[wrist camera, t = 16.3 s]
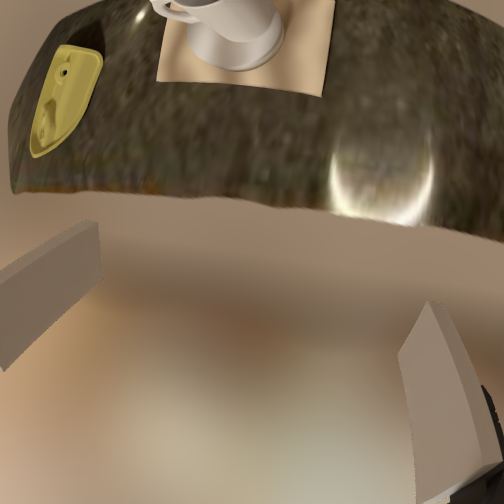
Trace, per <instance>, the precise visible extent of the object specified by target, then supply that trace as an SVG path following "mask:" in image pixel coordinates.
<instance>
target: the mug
mask: <svg viewBox="0 0 504 504" xmlns="http://www.w3.org/2000/svg"><path fill="white" fill-rule="evenodd" d="M150 2H152V5H153V8H154V10H155V11H156V12H157V13H158V14H160V15H162V16H165V17H167V18H170V19H174V20H178V21H182V22H185V23H189V24H192V23H197V22H203V23H205V24H206V25H207V26H209V27H210V28H212V29H213V30H214V31H216V32H217V33H219V34H220V35H222V36H223V37H225V38H226V39H228V40H230V41H234V42H248V41H252V40H255V39H257V38H259V37H260V36H262V35H263V34H264V33H265V32H266V31H267V29H268V28H269V26H270V23H271V13H270V10H269V8H268V5H267V2H266V0H150ZM169 2H173V3H174V4H176V5H177V6H179V7H180V8H182V9H183V10H185V11H186V12H183V11H176V10H172V9H170V8H168V7H166V6H165V4H166V3H169Z"/></svg>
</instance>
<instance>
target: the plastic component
mask: <svg viewBox="0 0 504 504" xmlns="http://www.w3.org/2000/svg"><path fill="white" fill-rule="evenodd" d="M102 66H103V58H102V56H101V54H100V53H99V52H97V51H95V50H91V49H87V48H82V47H78V46H73V45H60V47H59V48H58V49H57V51H56V53H55V56H54V58H53V60H52V63H51V66H50V68H49V71H48V74H47V77H46V80H45V83H44V86H43V89H42V92H41V95H40V99H39V102H38V105H37V109H36V113H35V117H34V121H33V125H32V131H31V138H30V151H31V154H32V156H33V158H37V157H40V156H42V155H44V154H46V153H48V152H49V151H51V150H52V149H54V148H55V147H57V146H58V145H59V144H60V143H61V142H62V141H63V140H64V139H66V138H67V136H68V135H69V134H70V133H71V132H72V131H73V130H74V128H75V127H76V126H77V124H78V123H79V121H80V120H81V118H82V116H83V114H84V112H85V110H86V108H87V106H88V103H89V100H90V97H91V94H92V92H93V89H94V86H95V84H96V81H97V79H98V76H99V74H100V71H101V69H102ZM65 70H67V74H66V75H65V76H64V72H65Z"/></svg>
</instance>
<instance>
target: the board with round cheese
mask: <svg viewBox="0 0 504 504" xmlns="http://www.w3.org/2000/svg"><path fill="white" fill-rule="evenodd" d="M266 2H267V5H268V8H269V10H270V13H271V23H270V26H269V28H268V29H267V31H266V32H265V33H264V34H263V35H262V36H260V37H259V38H257V39H255V40H252V41H248V42H234V41H230V40H228V39H226V38H225V37H223V36H222V35H220V34H219V33H217V32H216V31H214V30H213V29H212V28H210V27H209V26H207V25H206V24H205V23H203V22H197V23H192V24H189V23H185V22H182V21H178V20H174V19H170V18H168V19H167V23H166V28H165V33H164V38H163V43H162V49H161V55H160V60H159V67H158V73H157V80H156V81H160V82H208V83H225V84H237V85H248V86H257V87H265V88H273V89H280V90H286V91H292V92H298V93H304V94H309V95H314V96H319V97H321V95H322V89H323V83H324V77H325V70H326V64H327V57H328V50H329V44H330V36H331V29H332V22H333V14H334V6H335V0H266ZM170 9H172V10H176V11H183V12H186V11H185V10H183V9H182V8H180V7H179V6H177V5H176V4H174V3H173V2H171V6H170Z"/></svg>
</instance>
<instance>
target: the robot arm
mask: <svg viewBox="0 0 504 504" xmlns="http://www.w3.org/2000/svg"><path fill="white" fill-rule="evenodd" d="M103 279H104V276H103V268H102V260H101V251H100V241H99V230H98V223H97V222H93V221H89V220H84V221H82V222H80V223H78V224H76V225H74V226H73V227H71V228H69V229H67V230H66V231H64V232H62V233H60V234H58V235H57V236H55V237H53V238H51V239H50V240H48V241H46V242H45V243H43V244H41V245H40V246H38V247H36V248H35V249H33V250H31V251H30V252H28V253H27V254H25V255H23V256H22V257H20V258H19V259H17V260H16V261H14V262H13V263H11V264H9V265H8V266H6V267H5V268H3V269H2V270H0V369H1V370H2V371H3V372H4V371H6V369H7V368H8V367H9V366H10V365H11V364H12V363H13V362H14V361H15V360H16V359H17V358H18V357H19V356H20V355H21V354H22V353H23V352H24V351H25V350H26V349H27V348H28V347H29V346H30V345H31V344H32V343H33V342H34V341H35V340H36V339H37V338H38V337H39V336H40V335H42V334H43V333H44V332H45V331H46V330H47V329H48V328H49V327H50V326H51V325H52V324H53V323H54V322H55V321H57V319H59V318H60V317H61V316H62V315H63V314H64V313H65V312H66V311H67V310H69V309H70V308H71V307H72V306H73V305H74V304H75V303H76V302H78V301H79V300H80V299H81V298H82V297H83V296H84V295H86V294H87V293H88V292H89V291H90V290H91V289H93V288H94V287H95V286H96V285H97V284H98V283H100V282H101V281H102V280H103ZM398 359H399V364H400V368H401V373H402V378H403V383H404V389H405V395H406V400H407V407H408V413H409V419H410V428H411V436H412V444H413V454H414V466H415V482H416V504H434V503H438V502H440V501H441V500H443V499H445V498H447V497H449V496H450V502H449V503H447V504H504V435H503V432H502V428H501V425H500V423H498V421H499V419H498V415H497V413H496V412H495V406H494V404H493V401H492V398H491V396H490V395H489V393H488V392H487V390H486V389H485V388H484V386H483V385H480V383H479V380H478V378H477V375H476V373H475V370H474V368H473V366H472V363H471V361H470V358H469V356H468V354H467V352H466V349H465V347H464V345H463V343H462V340H461V338H460V336H459V334H458V332H457V330H456V328H455V326H454V324H453V322H452V320H451V318H450V316H449V314H448V312H447V310H446V308H445V306H444V304H442V303H437V302H433V301H427V302H426V304H425V306H424V308H423V310H422V312H421V314H420V316H419V318H418V320H417V322H416V323H415V325H414V327H413V329H412V331H411V333H410V334H409V336H408V338H407V339H406V341H405V343H404V345H403V346H402V348H401V350H400V351H399V353H398Z"/></svg>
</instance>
